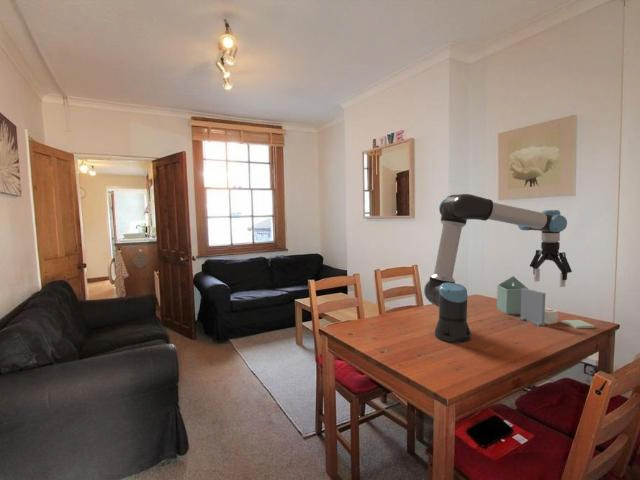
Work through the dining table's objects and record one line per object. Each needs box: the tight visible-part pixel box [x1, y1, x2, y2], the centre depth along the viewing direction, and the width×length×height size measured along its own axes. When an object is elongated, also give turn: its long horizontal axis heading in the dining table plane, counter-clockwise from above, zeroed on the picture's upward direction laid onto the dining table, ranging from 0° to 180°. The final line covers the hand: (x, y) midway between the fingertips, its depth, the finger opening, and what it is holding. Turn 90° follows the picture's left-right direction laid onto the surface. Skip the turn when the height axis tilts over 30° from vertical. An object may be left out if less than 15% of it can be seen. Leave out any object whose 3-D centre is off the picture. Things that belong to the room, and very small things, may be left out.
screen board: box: [518, 288, 547, 327], centre depth 172 cm, size 12×5×16 cm, turn 18°
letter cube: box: [544, 307, 559, 325], centre depth 173 cm, size 6×6×6 cm
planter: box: [496, 275, 529, 315], centre depth 188 cm, size 16×8×20 cm, turn 40°
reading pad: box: [561, 319, 596, 329], centre depth 167 cm, size 9×9×1 cm
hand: (549, 283), depth 171 cm, fingers open, 13 cm apart
